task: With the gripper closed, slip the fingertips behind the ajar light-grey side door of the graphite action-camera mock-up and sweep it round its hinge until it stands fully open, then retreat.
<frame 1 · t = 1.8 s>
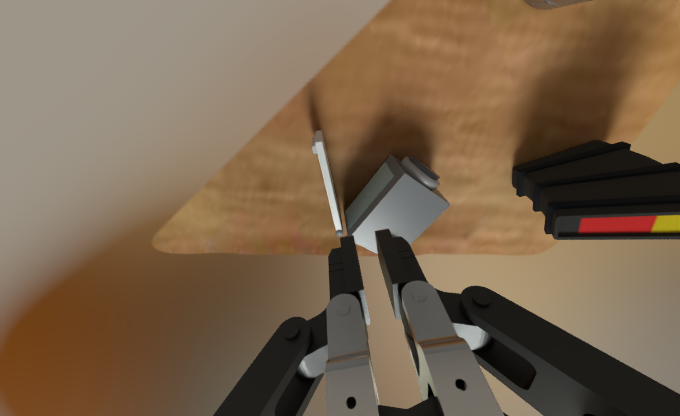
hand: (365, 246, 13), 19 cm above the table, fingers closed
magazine: (542, 166, 33), on the table
camera body: (386, 197, 34), on the table
side door: (328, 185, 29), point 2 cm above the table, hinge at 45.0°
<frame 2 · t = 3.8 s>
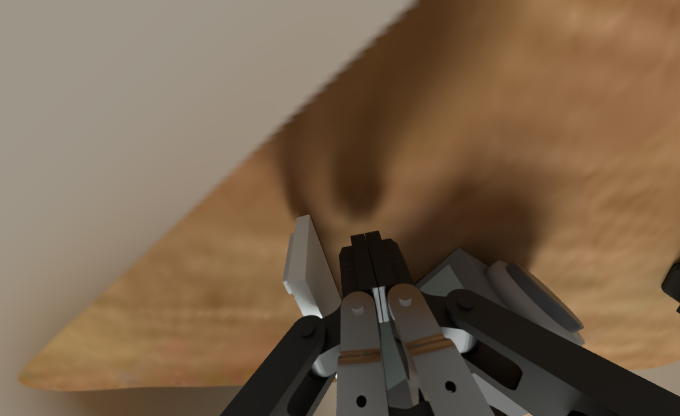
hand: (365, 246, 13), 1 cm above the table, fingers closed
camera body: (438, 310, 19), on the table
side door: (329, 320, 14), point 2 cm above the table, hinge at 49.0°, touching gripper
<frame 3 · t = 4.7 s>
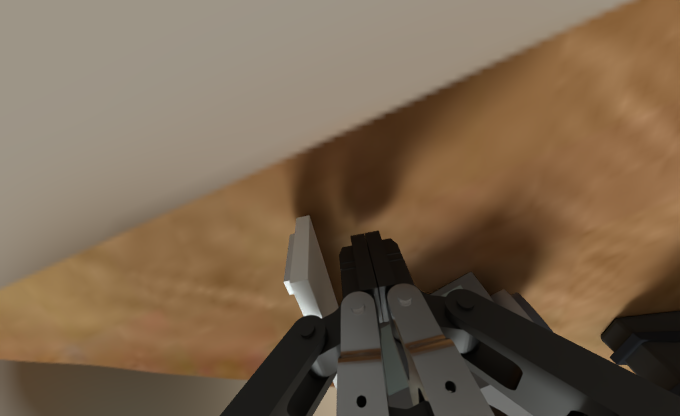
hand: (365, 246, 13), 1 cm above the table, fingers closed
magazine: (645, 320, 23), on the table
camera body: (430, 326, 20), on the table
side door: (326, 322, 14), point 2 cm above the table, hinge at 62.9°, touching gripper
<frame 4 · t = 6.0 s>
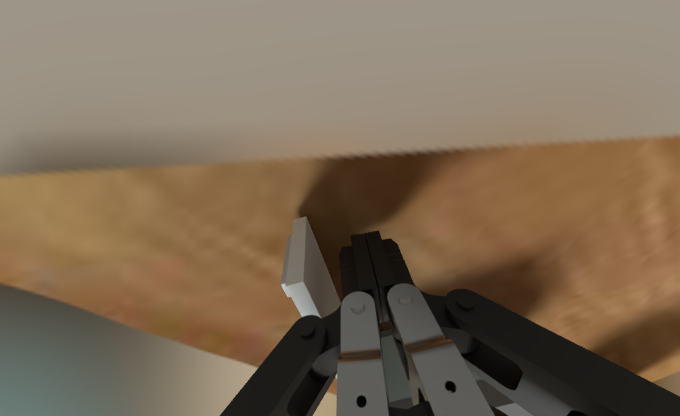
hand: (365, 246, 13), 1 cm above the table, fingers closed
camera body: (425, 344, 21), on the table
side door: (329, 322, 14), point 3 cm above the table, hinge at 87.5°, touching gripper
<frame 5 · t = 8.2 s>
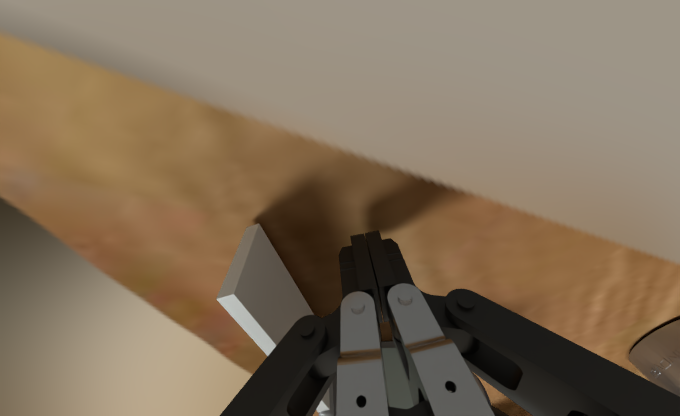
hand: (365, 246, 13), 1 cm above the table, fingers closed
camera body: (384, 364, 22), on the table
side door: (291, 328, 14), point 3 cm above the table, hinge at 112.2°
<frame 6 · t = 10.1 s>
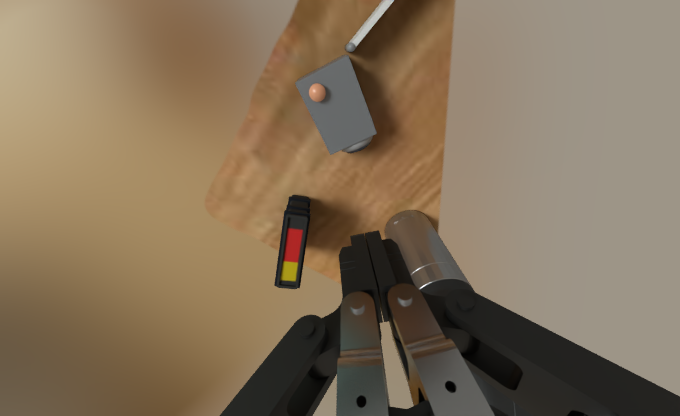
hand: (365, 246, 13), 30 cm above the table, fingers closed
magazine: (297, 213, 47), on the table
camera body: (336, 102, 37), on the table
side door: (381, 6, 29), point 2 cm above the table, hinge at 112.2°
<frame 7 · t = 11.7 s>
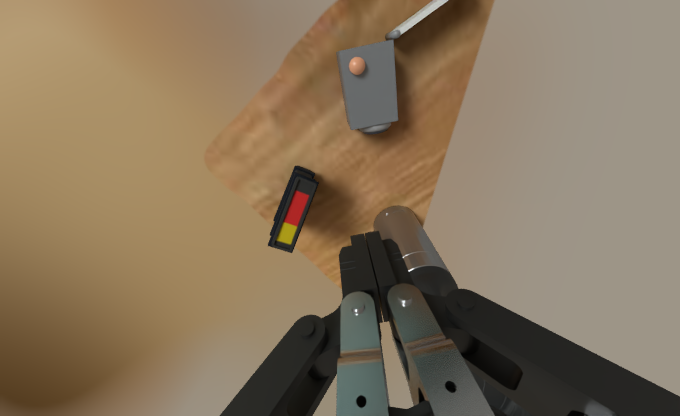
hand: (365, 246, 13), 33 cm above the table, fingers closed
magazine: (296, 186, 47), on the table
camera body: (363, 84, 39), on the table
side door: (429, 6, 32), point 3 cm above the table, hinge at 112.2°
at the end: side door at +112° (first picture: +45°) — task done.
